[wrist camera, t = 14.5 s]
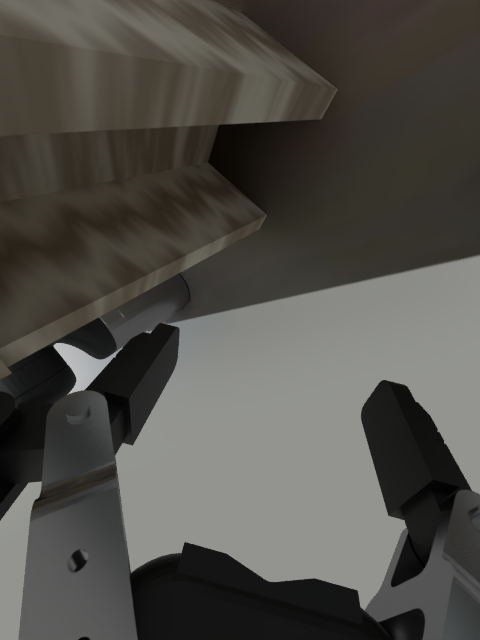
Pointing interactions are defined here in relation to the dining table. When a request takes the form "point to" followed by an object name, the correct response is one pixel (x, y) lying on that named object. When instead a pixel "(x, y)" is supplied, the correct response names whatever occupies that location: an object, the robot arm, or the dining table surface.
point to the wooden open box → (124, 150)
